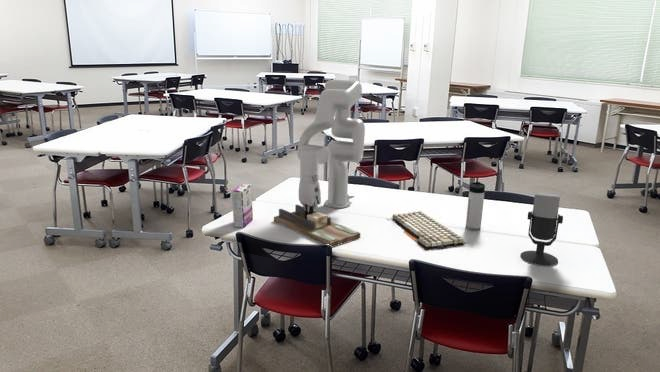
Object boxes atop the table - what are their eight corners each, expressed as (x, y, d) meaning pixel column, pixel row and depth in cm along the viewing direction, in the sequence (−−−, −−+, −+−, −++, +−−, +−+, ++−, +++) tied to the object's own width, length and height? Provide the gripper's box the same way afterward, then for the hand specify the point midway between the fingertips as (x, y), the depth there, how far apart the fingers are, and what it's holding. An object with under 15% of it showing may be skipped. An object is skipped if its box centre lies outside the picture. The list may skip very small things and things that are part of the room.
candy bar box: (242, 218, 220) (241, 183, 216) (253, 219, 219) (252, 184, 215) (232, 227, 210) (231, 190, 205) (243, 228, 209) (242, 191, 204)
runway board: (302, 213, 228) (302, 203, 227) (360, 237, 201) (360, 226, 199) (273, 221, 218) (273, 210, 216) (330, 247, 190) (331, 235, 189)
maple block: (317, 221, 212) (317, 211, 211) (327, 225, 208) (327, 215, 206) (307, 225, 208) (307, 214, 207) (316, 228, 204) (316, 218, 203)
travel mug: (480, 226, 216) (485, 182, 210) (480, 231, 210) (485, 186, 204) (466, 224, 218) (470, 180, 212) (465, 229, 212) (469, 184, 206)
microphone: (556, 255, 187) (566, 192, 180) (558, 268, 175) (569, 202, 169) (520, 249, 191) (528, 188, 185) (520, 262, 180) (528, 197, 173)
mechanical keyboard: (384, 220, 223) (385, 212, 222) (422, 216, 230) (422, 209, 229) (426, 252, 189) (427, 244, 188) (469, 247, 195) (470, 239, 194)
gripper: (327, 180, 203) (326, 222, 208) (305, 173, 214) (305, 213, 219) (313, 183, 198) (313, 226, 203) (291, 175, 209) (291, 216, 214)
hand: (308, 219), depth 211 cm, fingers closed
